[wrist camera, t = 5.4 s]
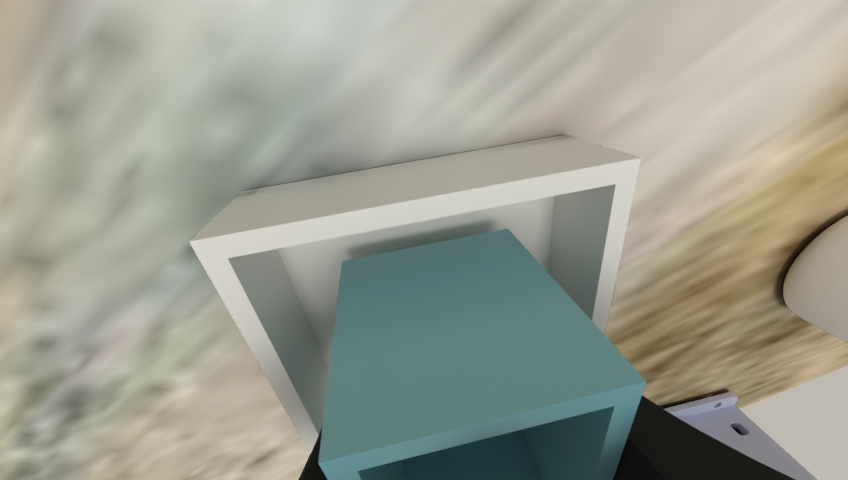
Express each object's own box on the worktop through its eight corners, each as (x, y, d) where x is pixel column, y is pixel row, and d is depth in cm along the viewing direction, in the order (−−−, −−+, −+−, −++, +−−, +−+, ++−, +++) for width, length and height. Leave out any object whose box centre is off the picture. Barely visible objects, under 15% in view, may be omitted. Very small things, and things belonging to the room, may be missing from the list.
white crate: (565, 134, 11) (641, 158, 8) (545, 365, 17) (584, 429, 14) (241, 191, 10) (189, 241, 7) (339, 414, 16) (333, 494, 13)
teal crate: (508, 228, 11) (646, 381, 5) (507, 380, 15) (587, 554, 9) (341, 261, 10) (317, 462, 5) (387, 409, 14) (401, 608, 9)
